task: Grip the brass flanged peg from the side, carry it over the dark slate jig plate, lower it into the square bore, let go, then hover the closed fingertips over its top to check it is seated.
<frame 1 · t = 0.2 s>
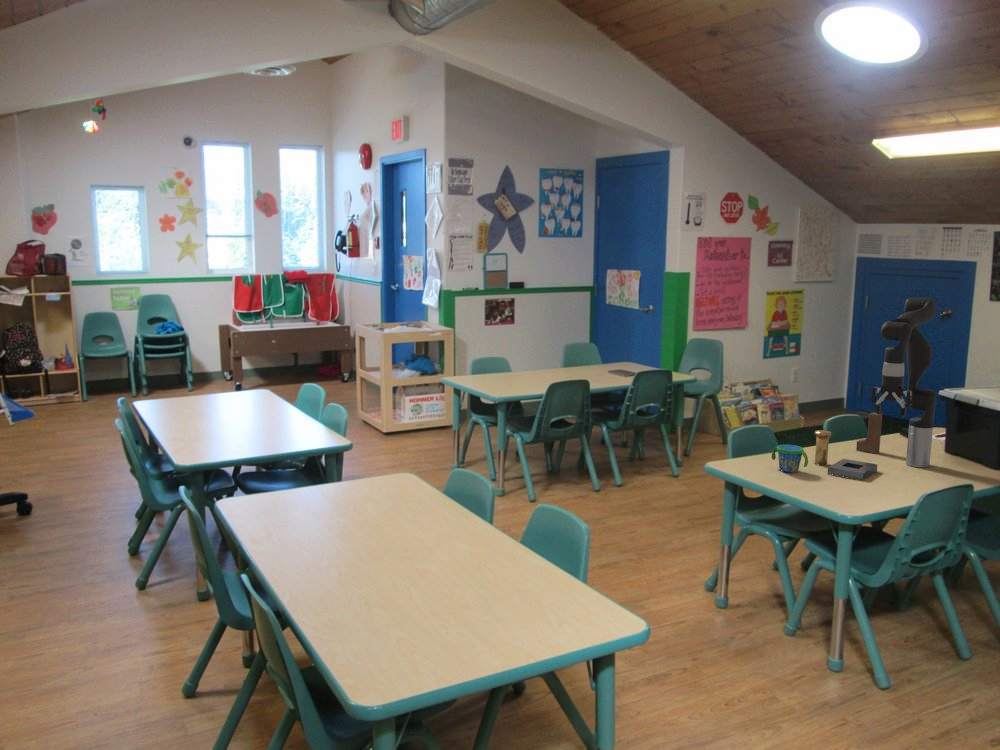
hand: (890, 415, 326), 29 cm above the table, tool pointing down, fingers open, 8 cm apart
brass flanged peg: (820, 463, 366), on the table
snack cup: (788, 471, 355), on the table
wooden block: (867, 451, 387), on the table
jig: (852, 472, 352), on the table
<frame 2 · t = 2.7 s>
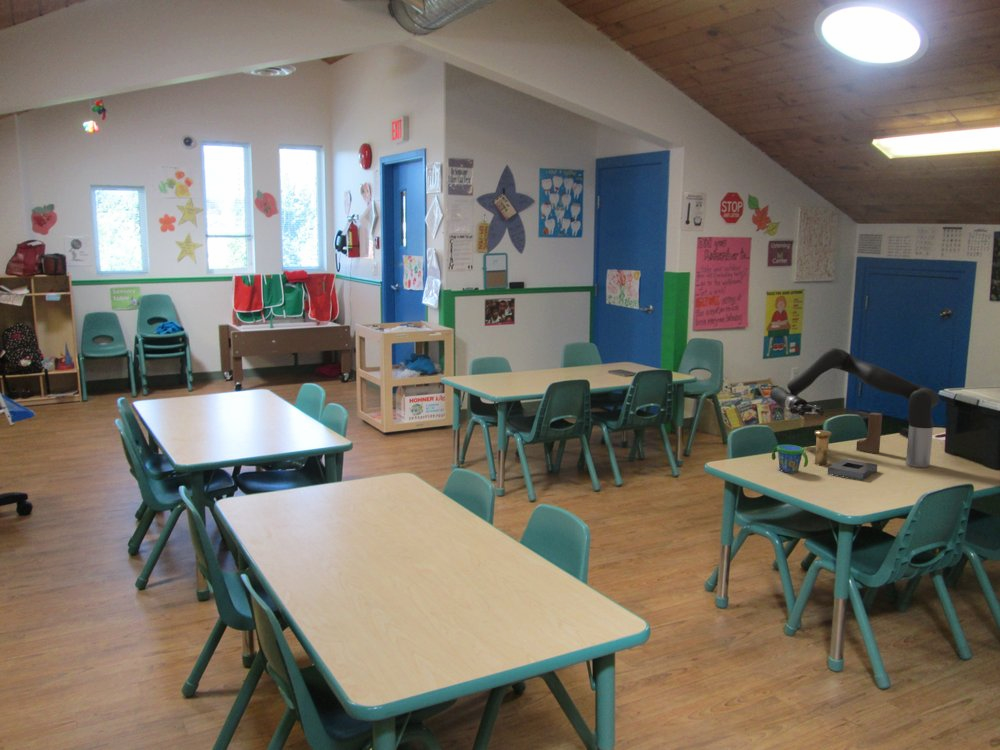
hand: (813, 413, 372), 20 cm above the table, tool horizontal, fingers open, 8 cm apart
nothing on the table moved.
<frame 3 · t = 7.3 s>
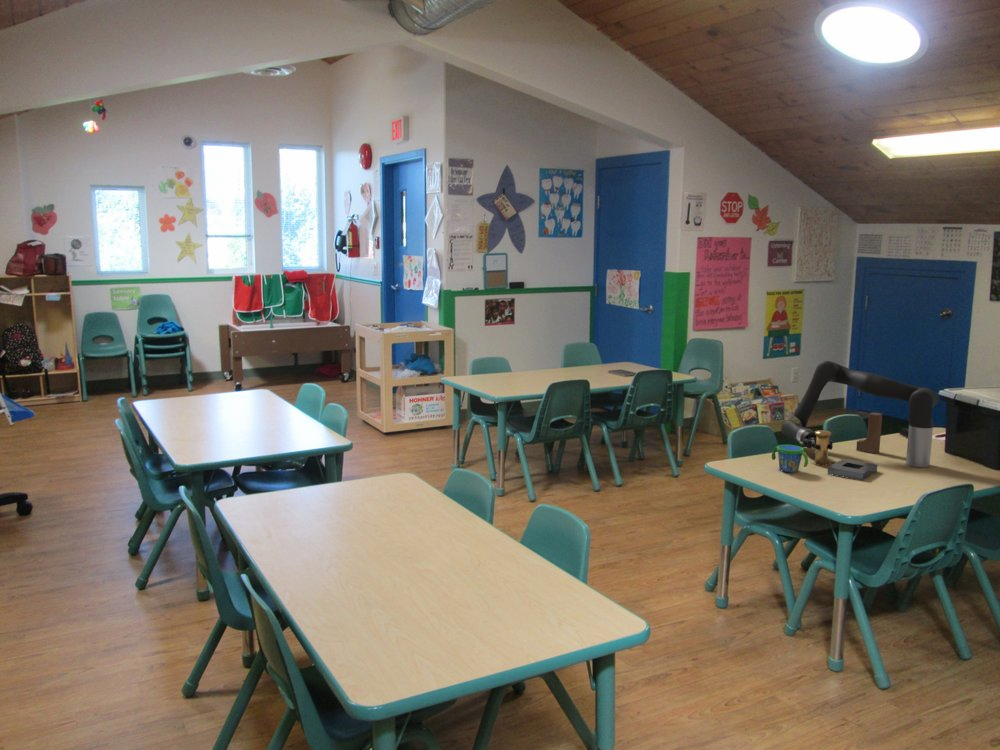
hand: (824, 447, 362), 8 cm above the table, tool horizontal, fingers closed on brass flanged peg, 5 cm apart
brass flanged peg: (821, 463, 366), on the table, touching gripper
everything else where it was.
when the fingers open (10 cm above the table, at t = 12.3 s): brass flanged peg drops 2 cm, resting in jig.
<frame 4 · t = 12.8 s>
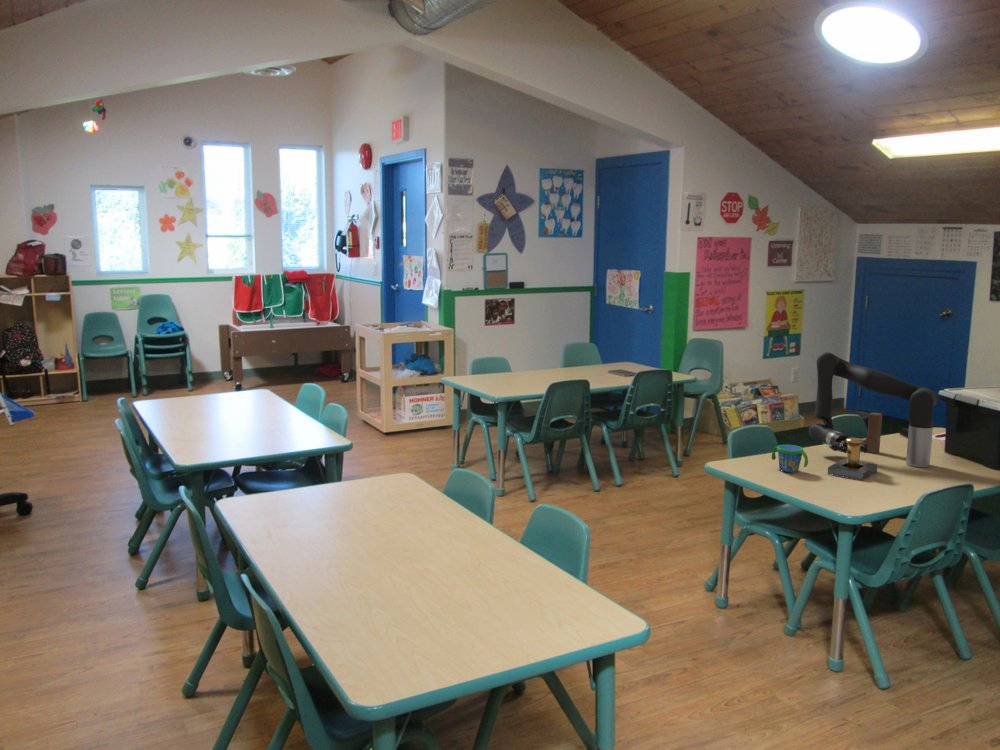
hand: (856, 450, 349), 10 cm above the table, tool horizontal, fingers open, 8 cm apart
brass flanged peg: (852, 472, 352), resting in jig
everything else where it was.
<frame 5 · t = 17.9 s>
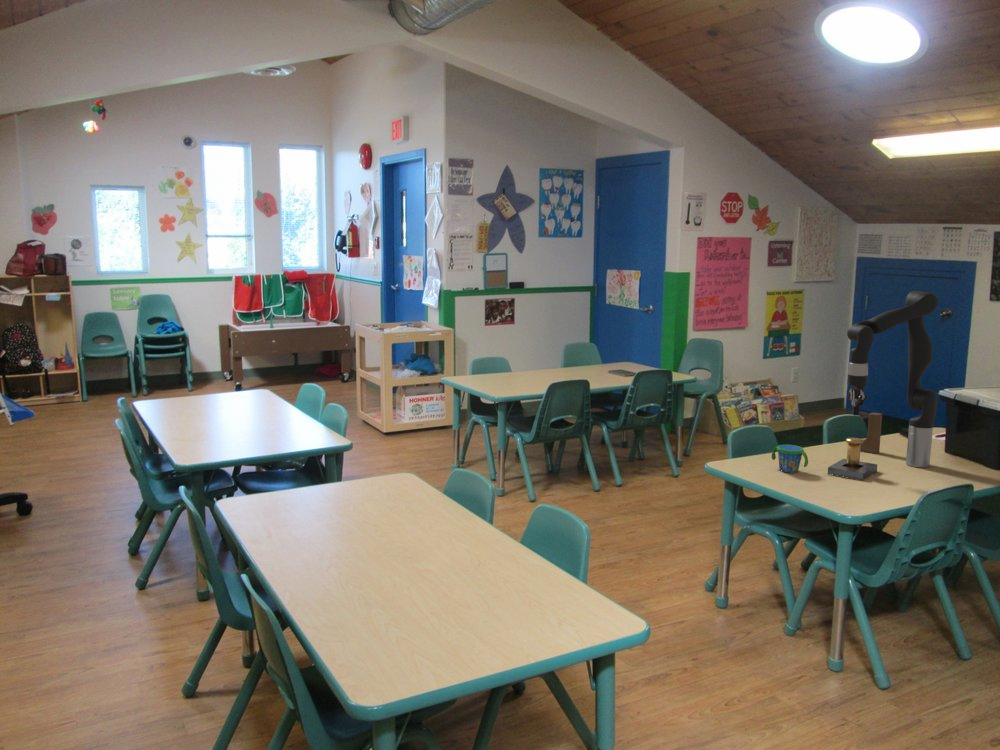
hand: (855, 414, 349), 25 cm above the table, tool pointing down, fingers closed
nothing on the table moved.
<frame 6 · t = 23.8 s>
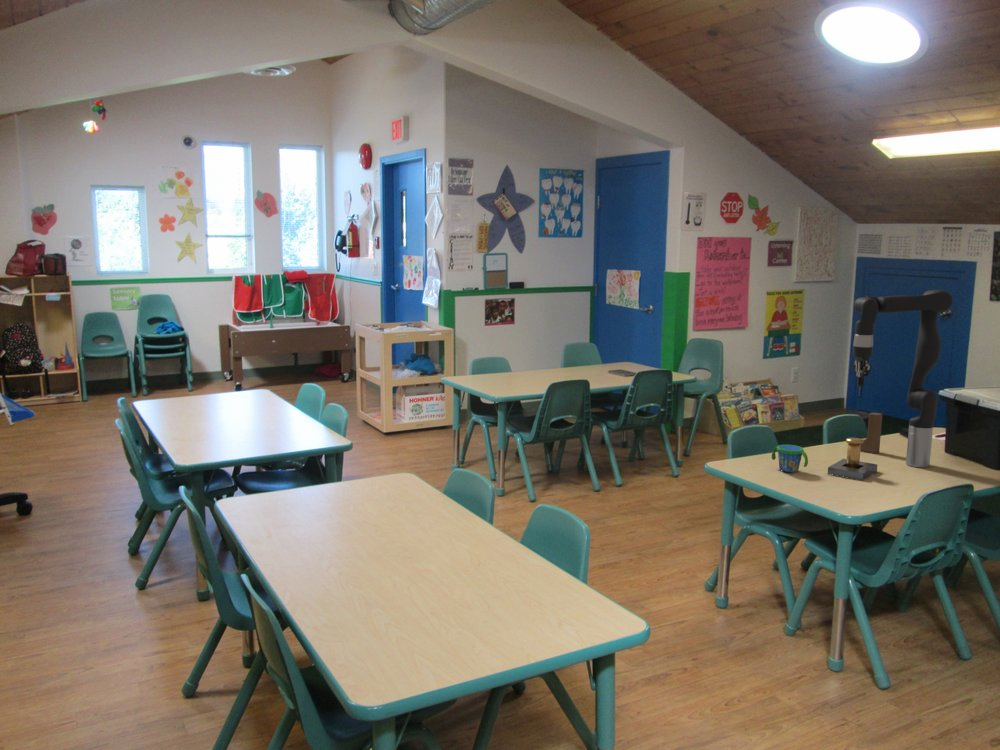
hand: (860, 385, 357), 35 cm above the table, tool pointing down, fingers closed
nothing on the table moved.
at the end: brass flanged peg 0.1 cm off-centre on the jig, point 0.0 cm above the jig's base; brass flanged peg tilted 0°; the gripper is holding nothing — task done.
